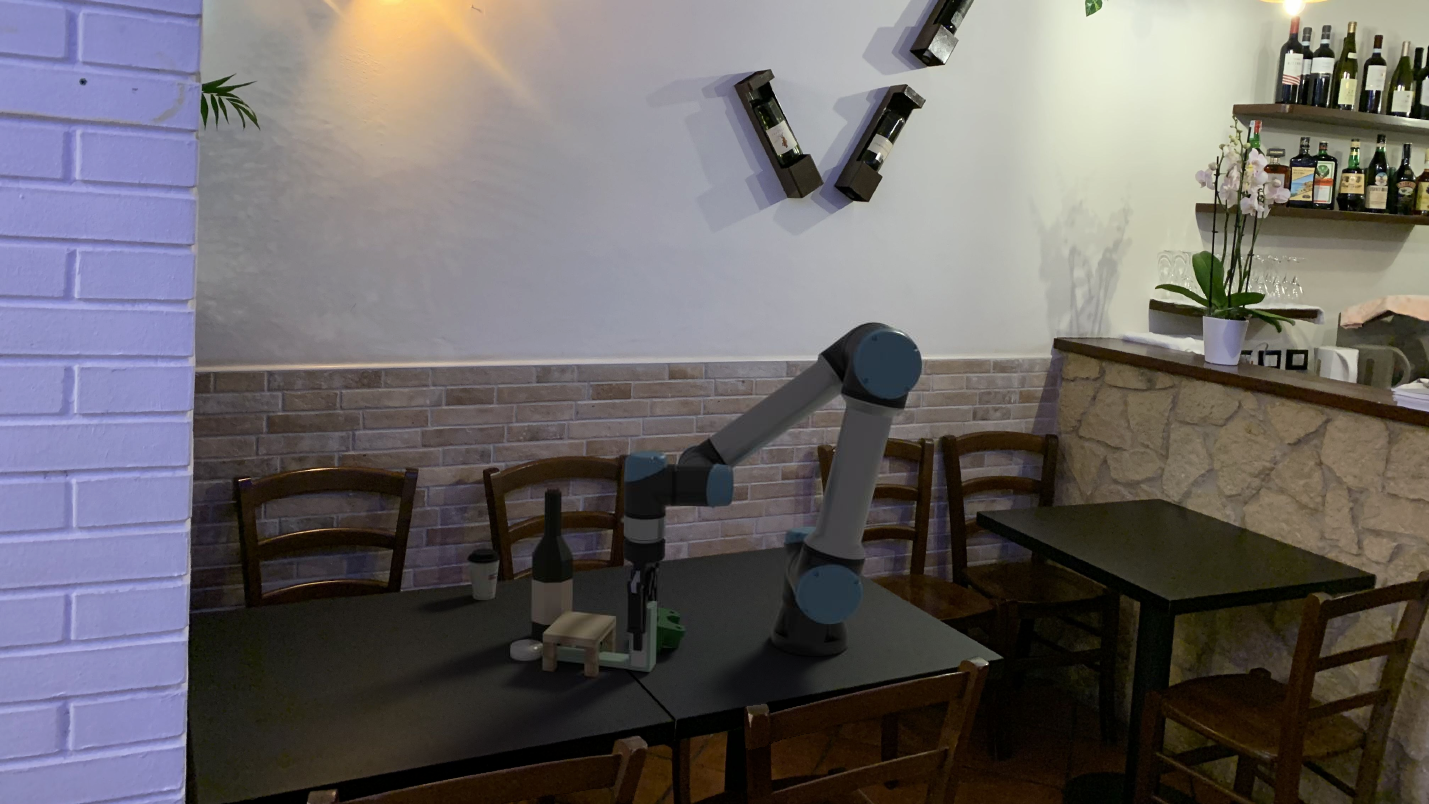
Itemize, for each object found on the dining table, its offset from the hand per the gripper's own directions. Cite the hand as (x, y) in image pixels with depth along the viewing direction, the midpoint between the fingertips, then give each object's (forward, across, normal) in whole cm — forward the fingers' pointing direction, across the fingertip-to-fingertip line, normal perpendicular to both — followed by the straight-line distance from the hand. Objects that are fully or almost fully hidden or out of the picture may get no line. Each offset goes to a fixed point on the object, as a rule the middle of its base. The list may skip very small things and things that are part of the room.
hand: (642, 660), depth 196 cm
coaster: (+2, 0, -22) cm, 23 cm away
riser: (+1, 0, -12) cm, 12 cm away
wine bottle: (+2, -9, -21) cm, 23 cm away
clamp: (+2, -13, 0) cm, 13 cm away
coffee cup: (+1, -26, -43) cm, 51 cm away
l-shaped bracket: (+1, 0, -8) cm, 8 cm away
